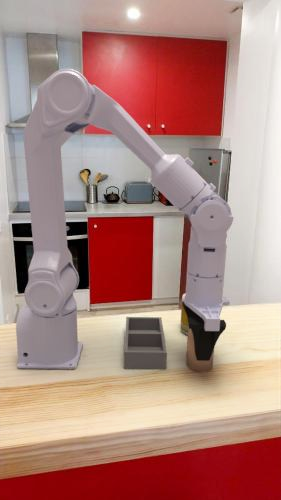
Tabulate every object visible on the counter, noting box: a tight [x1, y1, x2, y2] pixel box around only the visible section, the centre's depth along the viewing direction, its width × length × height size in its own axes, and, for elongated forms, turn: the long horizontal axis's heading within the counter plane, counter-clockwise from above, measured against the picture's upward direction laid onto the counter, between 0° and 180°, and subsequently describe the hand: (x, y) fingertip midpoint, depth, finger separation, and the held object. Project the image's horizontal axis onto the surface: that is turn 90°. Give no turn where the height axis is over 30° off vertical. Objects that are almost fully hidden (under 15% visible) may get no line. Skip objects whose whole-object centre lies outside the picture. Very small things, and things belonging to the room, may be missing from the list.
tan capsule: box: [185, 328, 215, 373], centre depth 59 cm, size 4×4×7 cm
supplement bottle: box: [179, 292, 189, 336], centre depth 70 cm, size 5×5×10 cm
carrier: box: [123, 316, 168, 370], centre depth 64 cm, size 7×13×3 cm, turn 1°
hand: (200, 351), depth 59 cm, fingers closed on tan capsule, 4 cm apart
